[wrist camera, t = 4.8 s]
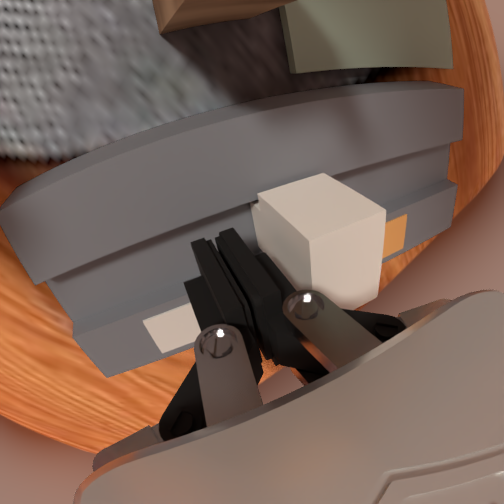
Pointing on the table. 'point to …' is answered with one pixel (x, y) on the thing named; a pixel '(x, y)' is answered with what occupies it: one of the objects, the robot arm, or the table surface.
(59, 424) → the table surface
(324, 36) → the mat
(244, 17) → the brown block
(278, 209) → the switch tab
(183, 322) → the switch panel
